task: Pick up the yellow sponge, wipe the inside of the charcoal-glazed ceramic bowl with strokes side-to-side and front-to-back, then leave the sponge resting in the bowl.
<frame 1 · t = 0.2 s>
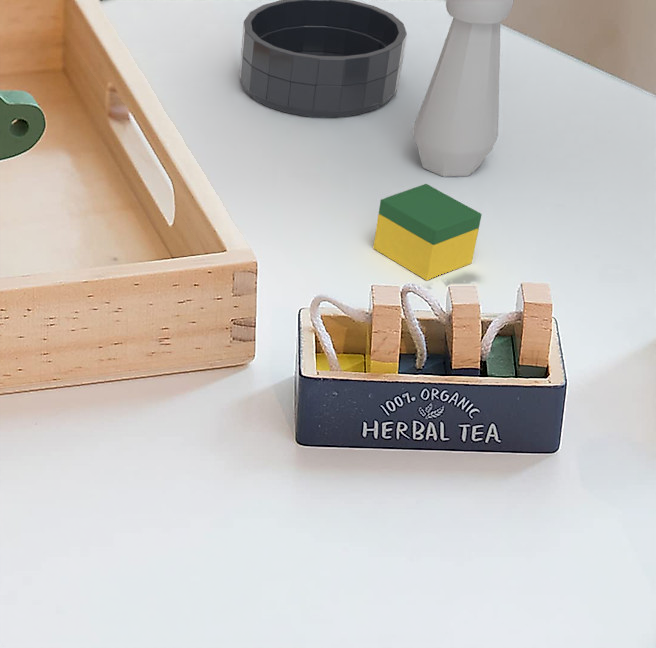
sponge: (422, 255, 99), on the table
bowl: (317, 85, 119), on the table
salt shaker: (448, 166, 109), on the table
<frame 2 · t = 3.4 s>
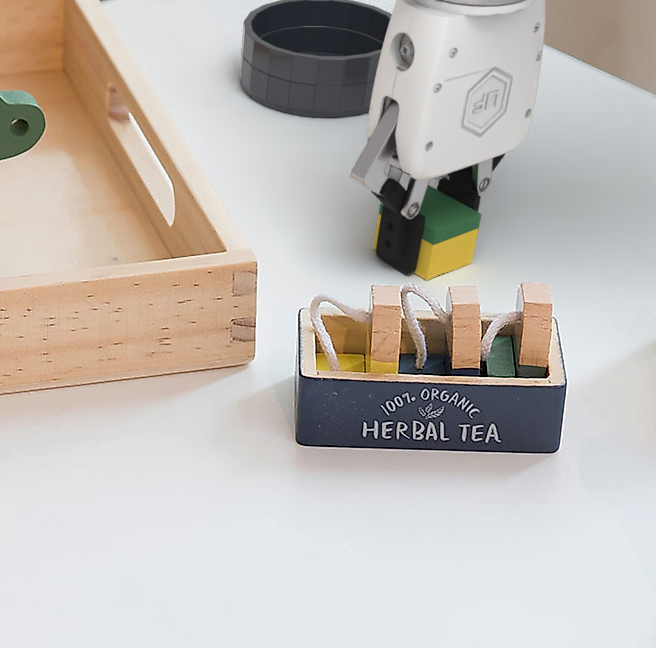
hand: (422, 251, 99), 0 cm above the table, tool pointing down, fingers closed on sponge, 4 cm apart
sponge: (422, 255, 99), on the table, touching gripper
everything else where it was.
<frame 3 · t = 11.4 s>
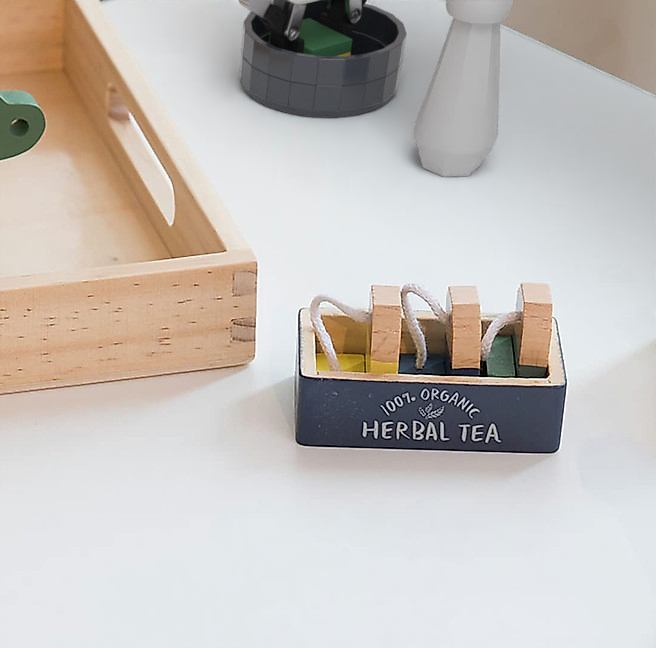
hand: (306, 75, 118), 1 cm above the table, tool pointing down, fingers closed on sponge, 4 cm apart
sponge: (305, 78, 118), point 1 cm above the table, touching gripper
everything else where it was.
when the fingers open (3 cm above the table, at t = 14.2 s): sponge stays where it is, resting on bowl.
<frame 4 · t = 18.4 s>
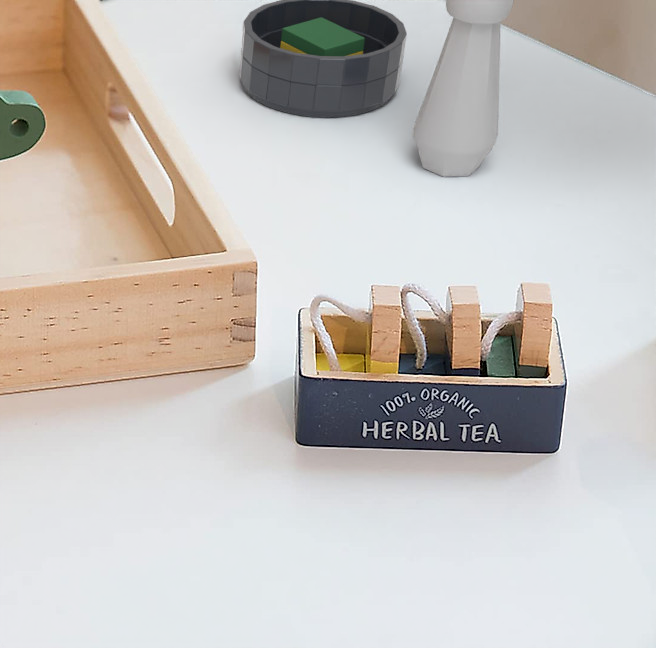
sponge: (318, 77, 118), point 1 cm above the table, touching bowl
everything else where it was.
at the end: sponge inside the target area in the bowl (0.1 cm from its centre), point 0.6 cm above the bowl's base; the gripper is holding nothing; sponge moved 26.9 cm from its start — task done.
